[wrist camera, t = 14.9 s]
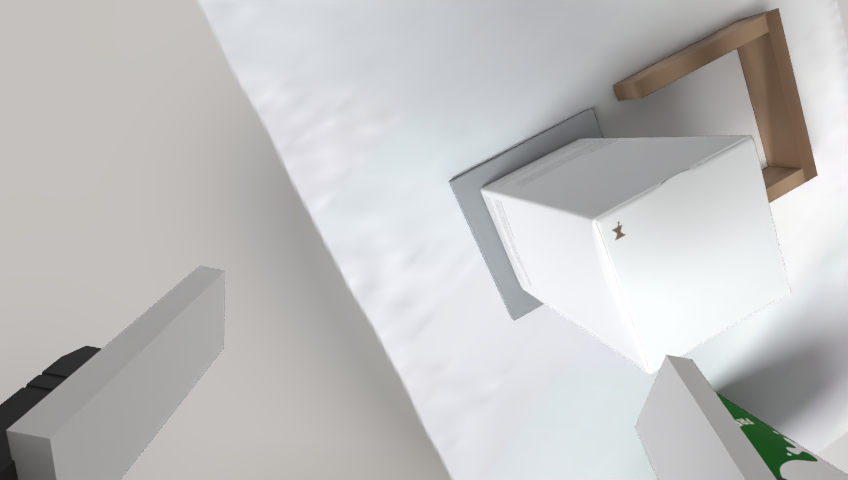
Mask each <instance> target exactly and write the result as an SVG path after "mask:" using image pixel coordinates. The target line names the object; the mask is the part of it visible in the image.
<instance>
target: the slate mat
mask: <svg viewBox="0 0 848 480" xmlns="http://www.w3.org/2000/svg"><path fill="white" fill-rule="evenodd" d="M588 138H603V136H602V133H601V131H600V128H599V125H598V122H597V119H596V117H595V114H594V111H593V109H587V110H586V111H584V112H582V113H580V114H578V115H576V116H574V117H572V118H570V119H568V120H566V121H564V122H562V123H560V124H559V125H557V126H555V127H553V128H551V129H549V130H547V131H545V132H543V133H541V134H539V135H537V136H535V137H534V138H532V139H530V140H528V141H526V142H524V143H522V144H520V145H518V146H516V147H514V148H512V149H510V150H508V151H507V152H505V153H503V154H501V155H499V156H497V157H495V158H493V159H491V160H489V161H487V162H485V163H483V164H482V165H480V166H478V167H476V168H474V169H472V170H470V171H468V172H466V173H464V174H462V175H460V176H458V177H457V178H455V179H453V180H451V181H449V183H450V185H451V187H452V190H453V192H454V194H455V196H456V198H457V201H458V203H459V205H460V207H461V209H462V211H463V214H464V216H465V218H466V220H467V222H468V225H469V227H470V229H471V231H472V233H473V235H474V238H475V240H476V242H477V244H478V246H479V248H480V251H481V253H482V255H483V257H484V259H485V262H486V264H487V266H488V268H489V270H490V272H491V275H492V277H493V279H494V281H495V283H496V286H497V288H498V290H499V292H500V294H501V296H502V299H503V301H504V303H505V305H506V307H507V309H508V312H509V314H510V316H511V318H512V319H513V320H514V321H515V320H516V319H518V318H520V317H522V316H524V315H525V314H527V313H529V312H531V311H532V310H534V309H536V308H538V307H539V306H541V305H543V304H544V303H543V302H541V301H540V300H538V299H537V298H535V297H534V296H532V295H531V294H529V293H528V292H526V291H525V290H523V289H522V287H521V285H520V283H519V281H518V279H517V277H516V274H515V272H514V270H513V267H512V265H511V263H510V260H509V258H508V255H507V253H506V251H505V248H504V246H503V243H502V241H501V239H500V236H499V234H498V231H497V229H496V227H495V224H494V222H493V220H492V217H491V215H490V212H489V210H488V208H487V205H486V203H485V201H484V198H483V196H482V193H481V191H480V190H481V188H483V187H484V186H486V185H488V184H490V183H492V182H494V181H496V180H498V179H500V178H502V177H504V176H506V175H508V174H510V173H512V172H514V171H516V170H518V169H520V168H522V167H524V166H526V165H528V164H530V163H532V162H534V161H536V160H538V159H540V158H542V157H544V156H546V155H548V154H550V153H552V152H554V151H556V150H558V149H560V148H562V147H564V146H566V145H568V144H570V143H572V142H574V141H576V140H578V139H588Z"/></svg>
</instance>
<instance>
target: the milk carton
mask: <svg viewBox="0 0 848 480" xmlns="http://www.w3.org/2000/svg"><path fill="white" fill-rule="evenodd" d="M716 394H717V396H718V397H719V398H720V400H721V401H722V403H723V404H724V406H725V407H726V408H727V410H728V411H729V413H730V414H731V415H732V417H733V418H734V420H735V421H736V423H737V424H738V425H739V427H740V428H741V430H742V431H743V432H744V434H745V435H746V437H747V438H748V440H749V441H750V442H751V444H752V445H753V447H754V448H755V449H756V451H757V452H758V454H759V455H760V456H761V458H762V459H763V461H764V462H765V464H766V465H767V466H768V468H769V469H770V471H771V472H772V473H773V475H774V476H775V477H780V478H785V479H787V480H848V474H846V473H844V472H843V471H841V470H839V469H838V468H836V467H835V466H833V465H831V464H829V463H828V462H826V461H825V460H823V459H822V458H820V457H818V456H817V455H815V454H813V453H812V452H810V451H809V450H807V449H805V448H804V447H802V446H800V445H799V444H797V443H796V442H794V441H792V440H791V439H789V438H787V437H786V436H784V435H783V434H781V433H779V432H778V431H776V430H775V429H773V428H771V427H770V426H768V425H767V424H765V423H764V422H762V421H760V420H759V419H757V418H756V417H754V416H752V415H751V414H749V413H748V412H746V411H744V410H743V409H741V408H740V407H738V406H736V405H735V404H733V403H732V402H730V401H729V400H727V399H725V398H724V397H722V396H721V395H719V394H718V393H716Z"/></svg>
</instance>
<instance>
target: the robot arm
mask: <svg viewBox="0 0 848 480" xmlns="http://www.w3.org/2000/svg"><path fill="white" fill-rule="evenodd" d="M224 310H225V271H224V270H219V269H214V268H209V267H204V266H199V267H198V268H197V269H195V270H194V271H193V272H192V273H191V274H189V275H188V276H187V277H186V278H185V279H184V280H183V281H181V282H180V283H179V284H178V285H177V286H176V287H174V288H173V289H172V290H171V291H170V292H168V293H167V294H166V295H165V296H164V297H162V298H161V299H160V300H159V301H158V302H157V303H155V304H154V305H153V306H152V307H151V308H149V309H148V310H147V311H146V312H145V313H144V314H142V315H141V316H140V317H139V318H138V319H137V320H135V321H134V322H133V323H132V324H131V325H130V326H128V327H127V328H126V329H125V330H124V331H122V332H121V333H120V334H119V335H118V336H117V337H115V338H114V339H113V340H112V341H111V342H109V343H108V344H107V345H106V346H105V347H104V348H103V349H101V348H96V347H90V346H85V347H82V348H80V349H78V350H76V351H74V352H72V353H69V354H67V355H65V356H62V357H61V358H60V359H58V360H57V361H56V362H54V363H53V364H52V365H51V366H49V367H48V368H47V369H46V370H44V371H43V372H42V375H38V376H37V377H35V378H34V379H33V380H32V381H30V382H29V383H28V384H27V386H26V387H25V388H21V389H20V390H19V391H17V392H16V393H15V394H14V395H12V396H11V397H10V398H9V399H7V400H6V401H5V402H4V403H2V404H1V405H0V480H121V479H122V477H123V476H124V475H125V473H126V472H127V471H128V470H129V468H130V467H131V466H132V465H133V463H134V462H135V461H136V459H137V458H138V457H139V456H140V454H141V453H142V452H143V451H144V449H145V448H146V447H147V445H148V444H149V443H150V442H151V440H152V439H153V438H154V437H155V435H156V434H157V433H158V431H159V430H160V429H161V428H162V426H163V425H164V424H165V422H166V421H167V420H168V419H169V417H170V416H171V415H172V414H173V412H174V411H175V410H176V408H177V407H178V406H179V405H180V403H181V402H182V401H183V399H184V398H185V397H186V396H187V394H188V393H189V392H190V391H191V389H192V388H193V387H194V386H195V384H196V383H197V382H198V380H199V379H200V378H201V377H202V375H203V374H204V373H205V371H206V370H207V369H208V368H209V366H210V365H211V364H212V363H213V361H214V360H215V359H216V358H217V356H218V355H219V354H220V352H221V351H222V349H224ZM635 429H636V431H637V433H638V435H639V438H640V440H641V442H642V445H643V447H644V449H645V452H646V454H647V456H648V458H649V461H650V463H651V465H652V468H653V470H654V472H655V474H656V477H657V479H658V480H787V479H785V478H780V477H775V476H774V475H773V473H772V472H771V471H770V469H769V468H768V466H767V465H766V464H765V462H764V461H763V459H762V458H761V456H760V455H759V454H758V452H757V451H756V449H755V448H754V447H753V445H752V444H751V442H750V441H749V440H748V438H747V437H746V435H745V434H744V432H743V431H742V430H741V428H740V427H739V425H738V424H737V423H736V421H735V420H734V418H733V417H732V415H731V414H730V413H729V411H728V410H727V408H726V407H725V406H724V404H723V403H722V401H721V400H720V398H719V397H718V396H717V394H716V393H715V391H714V390H713V389H712V387H711V386H710V384H709V383H708V381H707V380H706V379H705V377H704V376H703V374H702V373H701V372H700V370H699V369H698V367H697V366H696V364H695V363H694V362H693V360H692V359H687V358H681V357H676V356H671V355H666V356H665V358H664V361H663V363H662V365H661V368H660V370H659V372H658V374H657V377H656V379H655V381H654V384H653V386H652V388H651V391H650V393H649V395H648V398H647V400H646V402H645V404H644V407H643V409H642V411H641V414H640V416H639V418H638V421H637V423H636V425H635Z"/></svg>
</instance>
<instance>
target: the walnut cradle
mask: <svg viewBox="0 0 848 480" xmlns="http://www.w3.org/2000/svg"><path fill="white" fill-rule="evenodd" d="M735 49H738V53H739V57H740V61H741V64H742V68H743V72H744V76H745V80H746V83H747V87H748V91H749V95H750V99H751V102H752V106H753V110H754V114H755V118H756V121H757V125H758V129H759V133H760V137H761V140H762V144H763V148H764V152H765V155H766V159H767V163H768V167H767V168H765V169H764V170H762V174H763V179H764V183H765V187H766V192H767V197H768V201H769V203H770V202H772V201H774V200H775V199H777V198H779V197H781V196H782V195H784V194H786V193H788V192H789V191H791V190H793V189H795V188H796V187H798V186H800V185H802V184H803V183H805V182H807V181H809V180H810V179H812V178H814V177H816V176H817V171H816V166H815V162H814V158H813V154H812V149H811V145H810V141H809V137H808V132H807V128H806V124H805V120H804V115H803V111H802V107H801V103H800V98H799V94H798V90H797V86H796V81H795V77H794V73H793V69H792V64H791V60H790V56H789V52H788V47H787V43H786V39H785V34H784V30H783V26H782V22H781V17H780V13H779V9H774V10H771V11H767V12H764V13H760V14H757V15H753V16H750V17H746V18H743V19H741V20H739V21H737V22H735V23H733V24H731V25H729V26H728V27H726V28H724V29H722V30H720V31H718V32H716V33H714V34H712V35H710V36H708V37H706V38H704V39H702V40H700V41H699V42H697V43H695V44H693V45H691V46H689V47H687V48H685V49H683V50H681V51H679V52H677V53H675V54H673V55H671V56H669V57H668V58H666V59H664V60H662V61H660V62H658V63H656V64H654V65H652V66H650V67H648V68H646V69H644V70H642V71H640V72H638V73H637V74H635V75H633V76H631V77H629V78H627V79H625V80H623V81H621V82H619V83H617V84H615V85H613V88H614V91H615V94H616V97H617V100H618V101H620V100H627V99H635V98H642V97H645V96H647V95H649V94H651V93H653V92H655V91H656V90H658V89H660V88H662V87H664V86H666V85H668V84H670V83H672V82H674V81H676V80H677V79H679V78H681V77H683V76H685V75H687V74H689V73H691V72H693V71H695V70H697V69H698V68H700V67H702V66H704V65H706V64H708V63H710V62H712V61H714V60H716V59H718V58H719V57H721V56H723V55H725V54H727V53H729V52H731V51H733V50H735Z"/></svg>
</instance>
